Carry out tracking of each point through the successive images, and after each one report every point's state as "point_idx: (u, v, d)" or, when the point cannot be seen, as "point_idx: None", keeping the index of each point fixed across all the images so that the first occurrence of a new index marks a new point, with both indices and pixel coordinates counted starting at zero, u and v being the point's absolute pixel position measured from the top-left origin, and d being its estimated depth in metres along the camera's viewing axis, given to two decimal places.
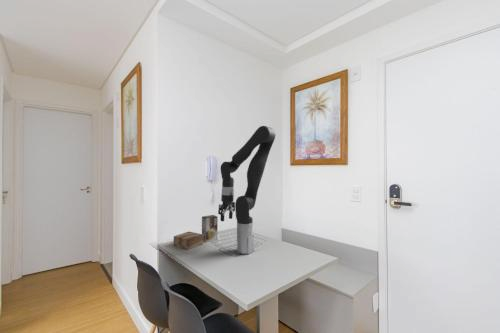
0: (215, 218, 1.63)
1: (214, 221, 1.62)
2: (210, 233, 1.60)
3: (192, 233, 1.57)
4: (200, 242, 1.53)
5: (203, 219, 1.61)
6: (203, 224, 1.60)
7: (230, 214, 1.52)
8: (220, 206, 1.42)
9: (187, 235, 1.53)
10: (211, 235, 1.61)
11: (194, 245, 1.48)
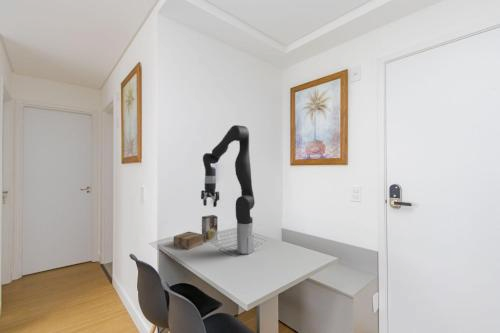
0: (215, 218, 1.63)
1: (214, 221, 1.62)
2: (210, 233, 1.60)
3: (192, 233, 1.57)
4: (200, 242, 1.53)
5: (203, 219, 1.61)
6: (204, 224, 1.60)
7: (205, 201, 1.65)
8: (218, 193, 1.60)
9: (187, 235, 1.53)
10: (211, 235, 1.61)
11: (194, 245, 1.48)
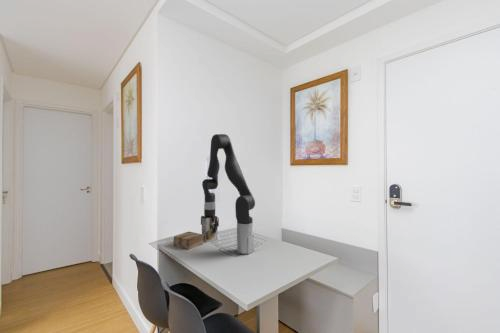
0: None
1: (214, 221, 1.62)
2: (210, 233, 1.60)
3: (192, 233, 1.57)
4: (200, 242, 1.53)
5: (203, 219, 1.61)
6: (204, 224, 1.60)
7: None
8: (217, 219, 1.60)
9: (187, 235, 1.53)
10: (211, 235, 1.61)
11: (194, 245, 1.48)
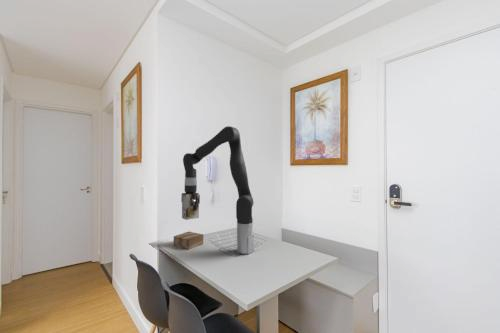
0: None
1: (194, 198, 1.52)
2: (191, 210, 1.51)
3: (192, 233, 1.57)
4: (200, 242, 1.53)
5: (183, 196, 1.51)
6: (183, 201, 1.51)
7: None
8: (198, 196, 1.50)
9: (187, 235, 1.53)
10: (192, 213, 1.51)
11: (194, 245, 1.48)
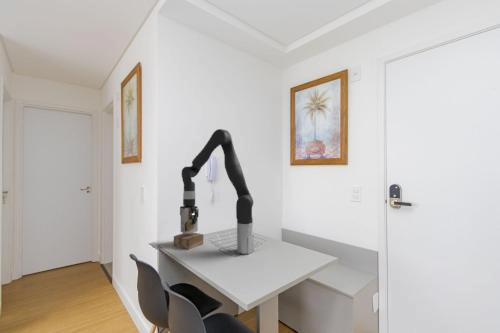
0: None
1: (193, 212, 1.51)
2: (189, 224, 1.50)
3: (192, 233, 1.57)
4: (200, 242, 1.53)
5: (182, 209, 1.50)
6: (182, 214, 1.50)
7: None
8: (197, 209, 1.49)
9: (187, 235, 1.53)
10: (190, 226, 1.50)
11: (194, 245, 1.48)
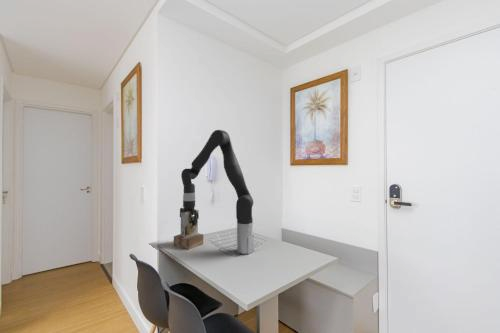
0: None
1: None
2: (190, 228, 1.50)
3: None
4: (200, 242, 1.53)
5: (182, 213, 1.50)
6: (182, 218, 1.50)
7: None
8: (197, 211, 1.49)
9: None
10: (190, 230, 1.50)
11: (194, 245, 1.48)
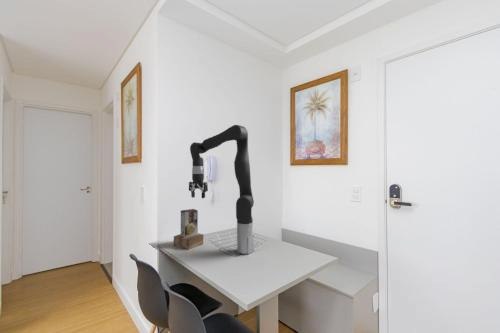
0: (195, 212, 1.52)
1: (193, 215, 1.51)
2: (190, 228, 1.50)
3: None
4: (200, 242, 1.53)
5: (182, 213, 1.50)
6: (182, 218, 1.50)
7: (193, 193, 1.59)
8: (206, 183, 1.54)
9: None
10: (190, 230, 1.50)
11: (194, 245, 1.48)
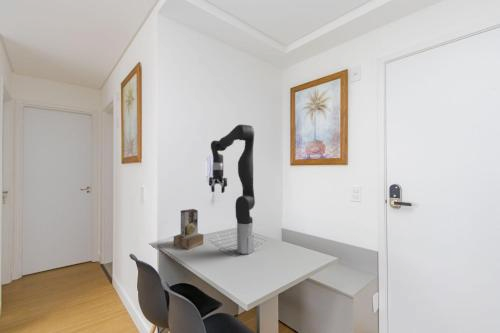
0: (195, 212, 1.52)
1: (193, 215, 1.51)
2: (190, 228, 1.50)
3: None
4: (200, 242, 1.53)
5: (182, 213, 1.50)
6: (182, 218, 1.50)
7: (213, 188, 1.70)
8: (225, 179, 1.64)
9: None
10: (190, 230, 1.50)
11: (194, 245, 1.48)
